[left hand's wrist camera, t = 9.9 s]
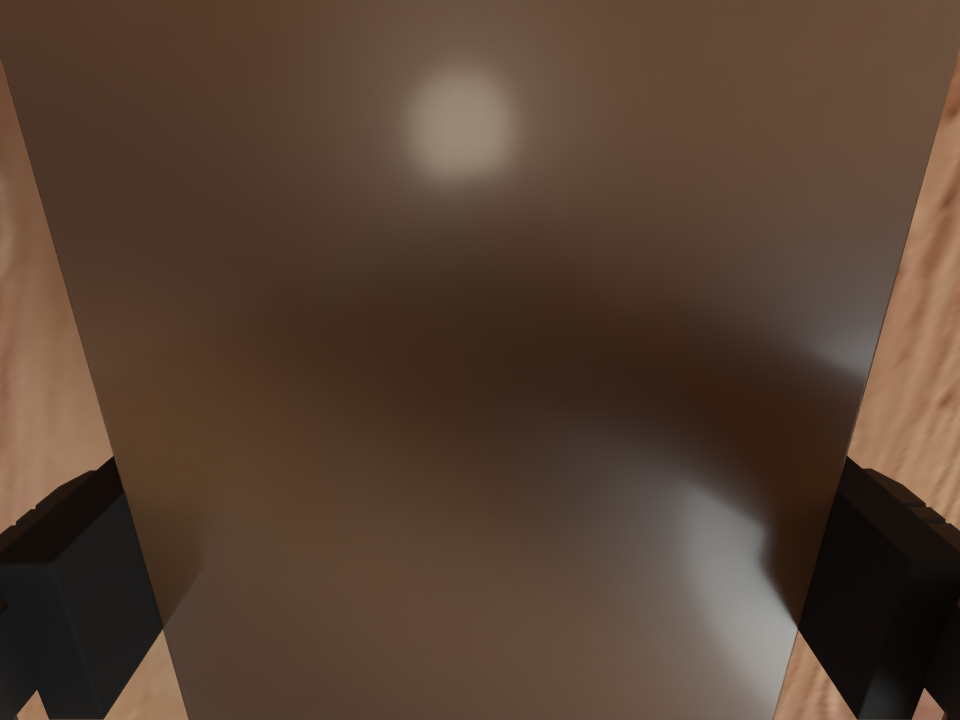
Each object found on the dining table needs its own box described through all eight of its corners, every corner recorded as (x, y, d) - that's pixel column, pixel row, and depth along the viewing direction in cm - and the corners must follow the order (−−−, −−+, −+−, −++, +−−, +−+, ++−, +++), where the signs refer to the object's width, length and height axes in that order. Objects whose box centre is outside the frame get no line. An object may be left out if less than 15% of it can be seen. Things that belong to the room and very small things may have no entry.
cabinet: (211, -296, 11) (-365, -1220, 3) (746, -298, 11) (1321, -1237, 3) (318, 510, 18) (203, 776, 11) (643, 510, 18) (759, 776, 11)
